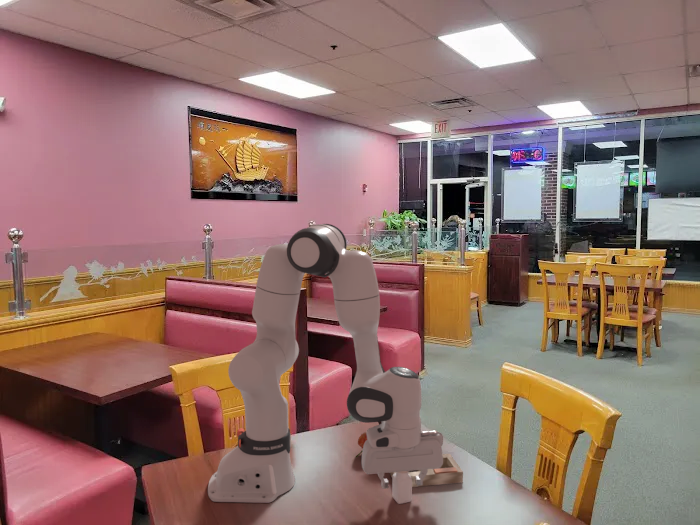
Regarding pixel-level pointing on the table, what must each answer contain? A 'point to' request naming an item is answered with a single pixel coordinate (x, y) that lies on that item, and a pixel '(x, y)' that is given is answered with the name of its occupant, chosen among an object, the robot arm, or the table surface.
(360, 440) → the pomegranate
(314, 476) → the table surface
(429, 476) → the slot rack
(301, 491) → the table surface
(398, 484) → the pepper shaker
